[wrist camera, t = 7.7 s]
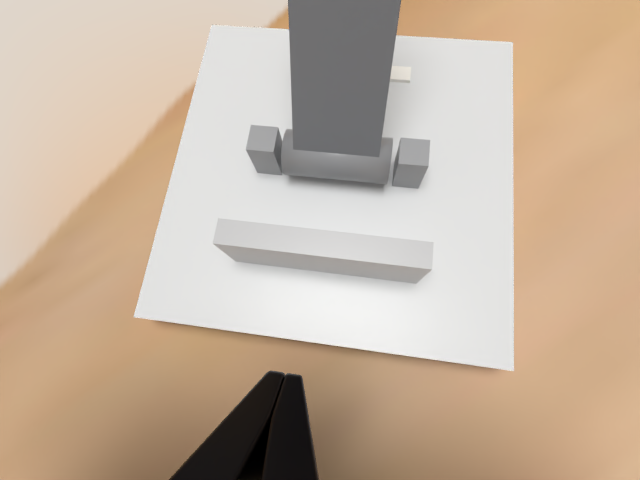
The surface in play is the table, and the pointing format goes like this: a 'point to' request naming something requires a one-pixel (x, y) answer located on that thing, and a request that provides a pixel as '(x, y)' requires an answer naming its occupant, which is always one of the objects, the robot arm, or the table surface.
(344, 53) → the lever
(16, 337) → the table surface
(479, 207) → the switch plate
